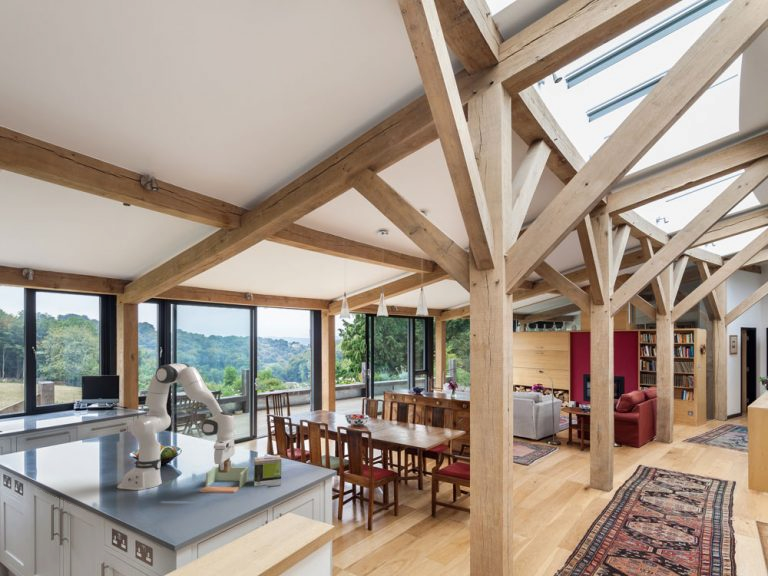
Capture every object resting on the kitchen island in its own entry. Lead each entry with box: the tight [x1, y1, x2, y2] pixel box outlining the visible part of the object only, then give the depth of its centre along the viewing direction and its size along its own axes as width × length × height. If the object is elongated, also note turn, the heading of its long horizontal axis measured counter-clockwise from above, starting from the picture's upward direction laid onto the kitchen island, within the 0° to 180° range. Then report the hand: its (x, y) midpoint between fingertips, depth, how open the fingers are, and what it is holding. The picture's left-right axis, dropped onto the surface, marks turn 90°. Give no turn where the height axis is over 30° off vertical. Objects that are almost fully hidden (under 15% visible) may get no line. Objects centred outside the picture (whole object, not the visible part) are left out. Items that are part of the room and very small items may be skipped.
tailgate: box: [199, 486, 240, 494], centre depth 239 cm, size 19×1×8 cm
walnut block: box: [217, 460, 232, 473], centre depth 241 cm, size 5×5×5 cm
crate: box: [205, 466, 250, 488], centre depth 250 cm, size 20×12×8 cm, turn 89°
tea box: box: [253, 454, 282, 487], centre depth 253 cm, size 15×10×15 cm, turn 108°
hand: (224, 468), depth 240 cm, fingers closed on walnut block, 5 cm apart
